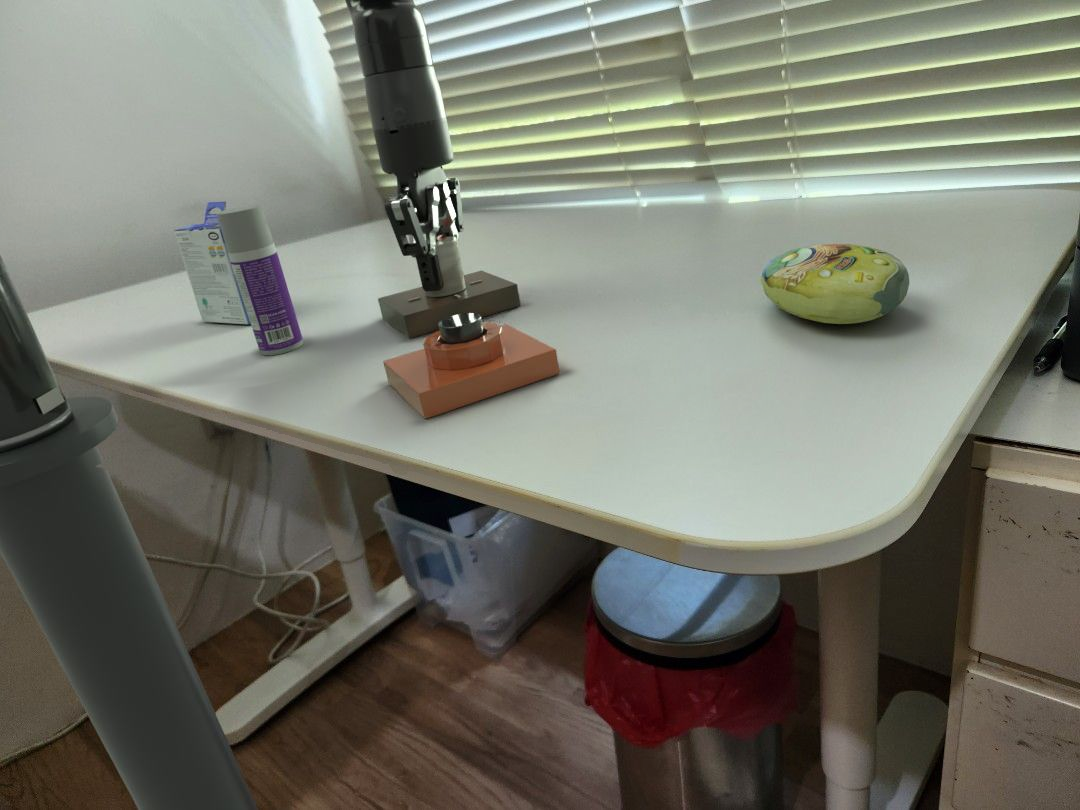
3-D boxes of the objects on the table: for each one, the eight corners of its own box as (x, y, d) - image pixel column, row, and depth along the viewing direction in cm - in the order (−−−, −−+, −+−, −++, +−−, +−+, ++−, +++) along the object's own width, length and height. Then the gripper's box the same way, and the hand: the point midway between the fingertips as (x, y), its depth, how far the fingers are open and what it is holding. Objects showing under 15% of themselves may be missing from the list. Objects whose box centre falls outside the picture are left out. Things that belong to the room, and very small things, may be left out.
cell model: (805, 321, 57) (736, 220, 68) (811, 387, 63) (746, 284, 73) (946, 270, 56) (853, 175, 67) (939, 342, 62) (854, 244, 72)
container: (311, 338, 83) (271, 201, 77) (290, 353, 79) (246, 210, 73) (274, 341, 84) (232, 207, 78) (251, 356, 80) (205, 216, 74)
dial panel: (409, 338, 77) (403, 314, 76) (382, 319, 86) (377, 297, 85) (520, 305, 82) (516, 282, 81) (485, 290, 90) (481, 268, 89)
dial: (456, 296, 80) (444, 242, 78) (418, 298, 82) (406, 245, 79) (472, 283, 84) (462, 232, 82) (436, 285, 86) (425, 235, 83)
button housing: (425, 419, 58) (413, 371, 56) (388, 383, 66) (377, 341, 64) (560, 373, 62) (553, 328, 60) (509, 345, 70) (502, 305, 69)
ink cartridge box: (284, 311, 96) (250, 197, 90) (249, 326, 92) (211, 207, 86) (236, 309, 101) (201, 201, 96) (201, 323, 97) (162, 211, 92)
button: (451, 350, 60) (446, 330, 60) (436, 340, 63) (432, 321, 63) (491, 338, 62) (487, 318, 61) (475, 329, 65) (471, 310, 64)
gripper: (407, 118, 83) (439, 268, 90) (340, 133, 71) (383, 305, 78) (468, 108, 81) (497, 263, 87) (411, 121, 68) (449, 300, 75)
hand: (443, 282), depth 82 cm, fingers closed on dial, 4 cm apart
